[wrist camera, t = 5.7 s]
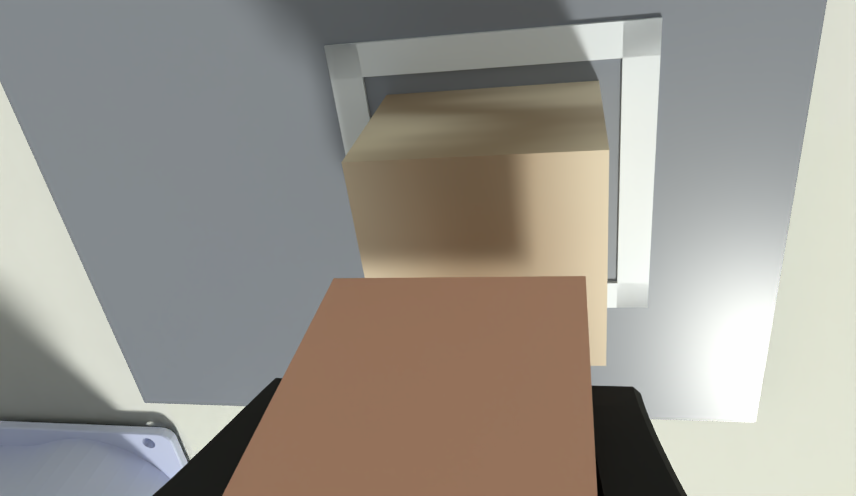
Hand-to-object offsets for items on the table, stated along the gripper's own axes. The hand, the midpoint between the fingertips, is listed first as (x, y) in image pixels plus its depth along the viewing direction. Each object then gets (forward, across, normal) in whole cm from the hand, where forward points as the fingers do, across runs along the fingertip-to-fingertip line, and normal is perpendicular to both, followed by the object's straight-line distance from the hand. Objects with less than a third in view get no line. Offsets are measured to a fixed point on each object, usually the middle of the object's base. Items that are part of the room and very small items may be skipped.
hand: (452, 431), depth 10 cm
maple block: (+9, 0, 0) cm, 9 cm away
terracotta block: (+2, 0, 0) cm, 2 cm away
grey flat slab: (+9, +3, 0) cm, 10 cm away
